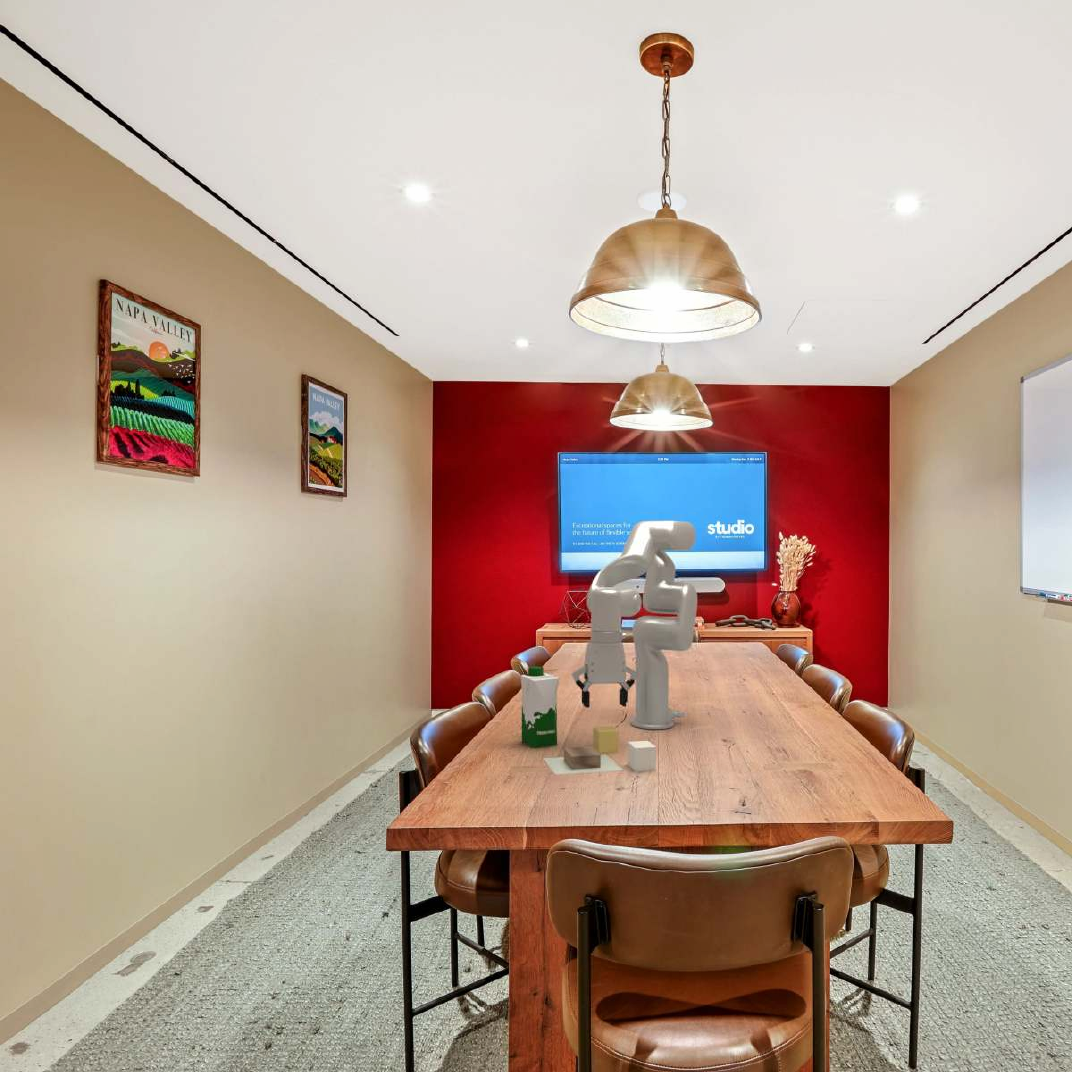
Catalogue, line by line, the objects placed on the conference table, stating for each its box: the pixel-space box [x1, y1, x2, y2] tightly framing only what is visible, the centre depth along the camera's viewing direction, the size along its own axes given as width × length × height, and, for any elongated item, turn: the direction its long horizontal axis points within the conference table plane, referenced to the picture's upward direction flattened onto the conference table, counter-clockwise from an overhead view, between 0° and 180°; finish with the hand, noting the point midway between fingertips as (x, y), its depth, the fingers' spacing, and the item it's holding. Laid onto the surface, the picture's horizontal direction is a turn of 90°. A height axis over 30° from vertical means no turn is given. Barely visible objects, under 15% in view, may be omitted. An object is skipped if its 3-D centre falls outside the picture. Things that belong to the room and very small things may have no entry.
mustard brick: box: [592, 725, 619, 755], centre depth 174 cm, size 5×5×6 cm
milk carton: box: [520, 665, 560, 749], centre depth 180 cm, size 9×9×20 cm
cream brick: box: [627, 740, 657, 772], centre depth 160 cm, size 5×5×6 cm
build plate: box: [543, 753, 623, 776], centre depth 163 cm, size 16×12×1 cm
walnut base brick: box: [563, 745, 602, 770], centre depth 163 cm, size 7×7×3 cm
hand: (604, 706), depth 173 cm, fingers open, 9 cm apart
